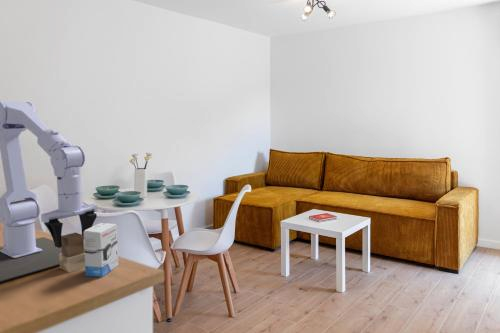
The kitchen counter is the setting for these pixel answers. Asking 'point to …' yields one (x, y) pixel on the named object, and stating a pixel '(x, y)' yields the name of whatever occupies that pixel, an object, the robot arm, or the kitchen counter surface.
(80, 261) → the base block
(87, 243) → the ink box
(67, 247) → the walnut block
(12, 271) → the kitchen counter surface
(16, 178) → the robot arm
